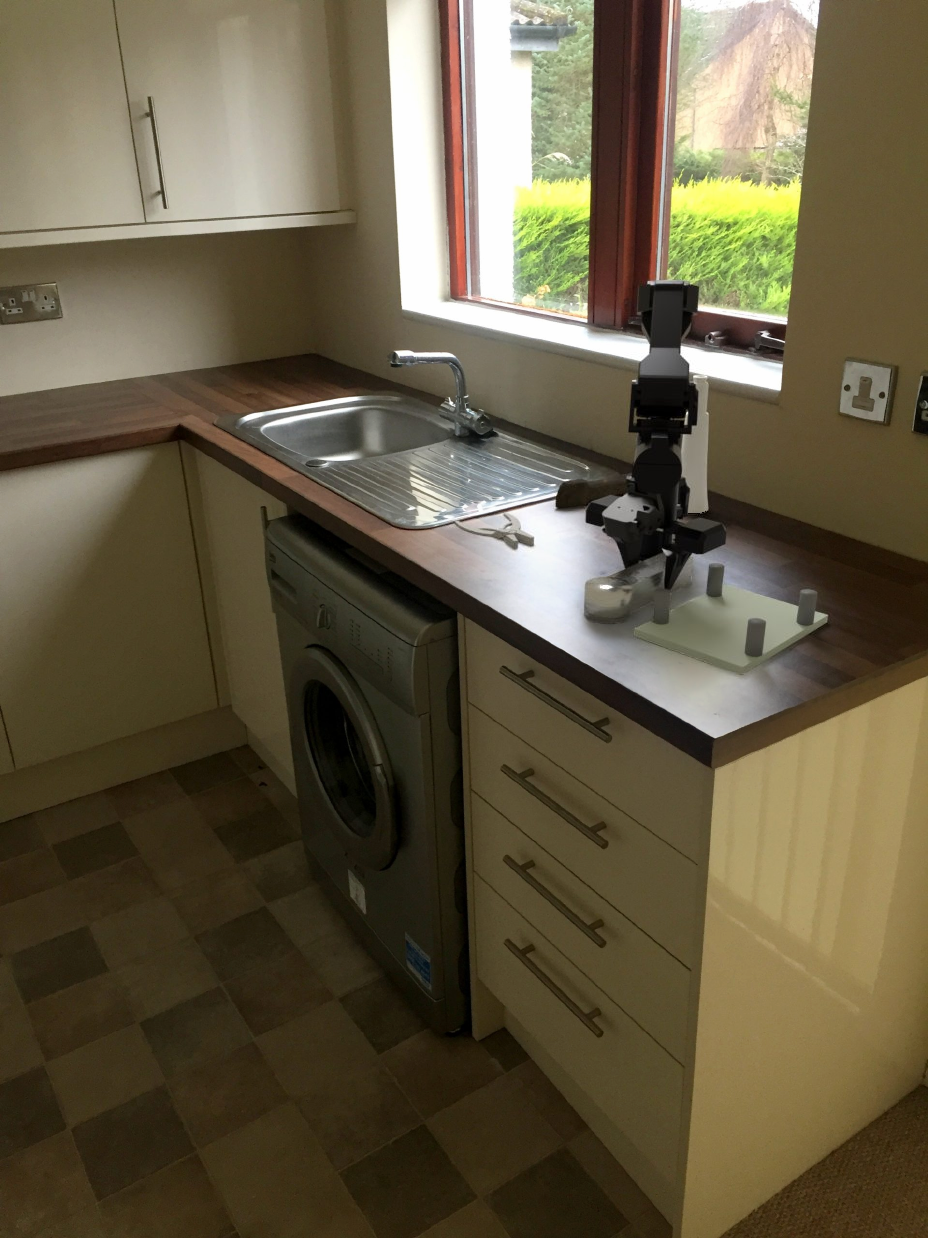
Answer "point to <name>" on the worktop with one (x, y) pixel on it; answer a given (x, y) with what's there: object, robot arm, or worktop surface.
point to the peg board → (730, 624)
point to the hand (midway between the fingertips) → (649, 584)
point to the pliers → (503, 532)
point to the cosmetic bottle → (697, 451)
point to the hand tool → (589, 490)
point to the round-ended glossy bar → (629, 589)
